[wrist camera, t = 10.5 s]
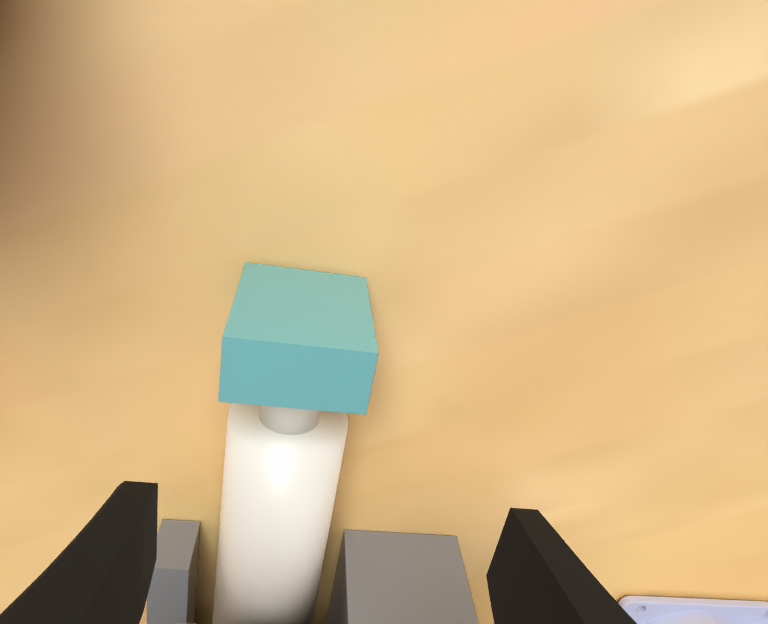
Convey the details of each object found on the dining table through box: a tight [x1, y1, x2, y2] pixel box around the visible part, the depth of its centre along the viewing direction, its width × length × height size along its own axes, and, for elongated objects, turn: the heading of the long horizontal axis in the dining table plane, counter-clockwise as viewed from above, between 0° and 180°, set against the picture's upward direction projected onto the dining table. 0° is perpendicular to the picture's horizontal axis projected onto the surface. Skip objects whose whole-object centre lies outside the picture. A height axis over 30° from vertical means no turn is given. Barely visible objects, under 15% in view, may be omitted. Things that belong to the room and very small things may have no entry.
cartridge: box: [212, 262, 378, 624], centre depth 21 cm, size 4×16×5 cm, turn 170°
